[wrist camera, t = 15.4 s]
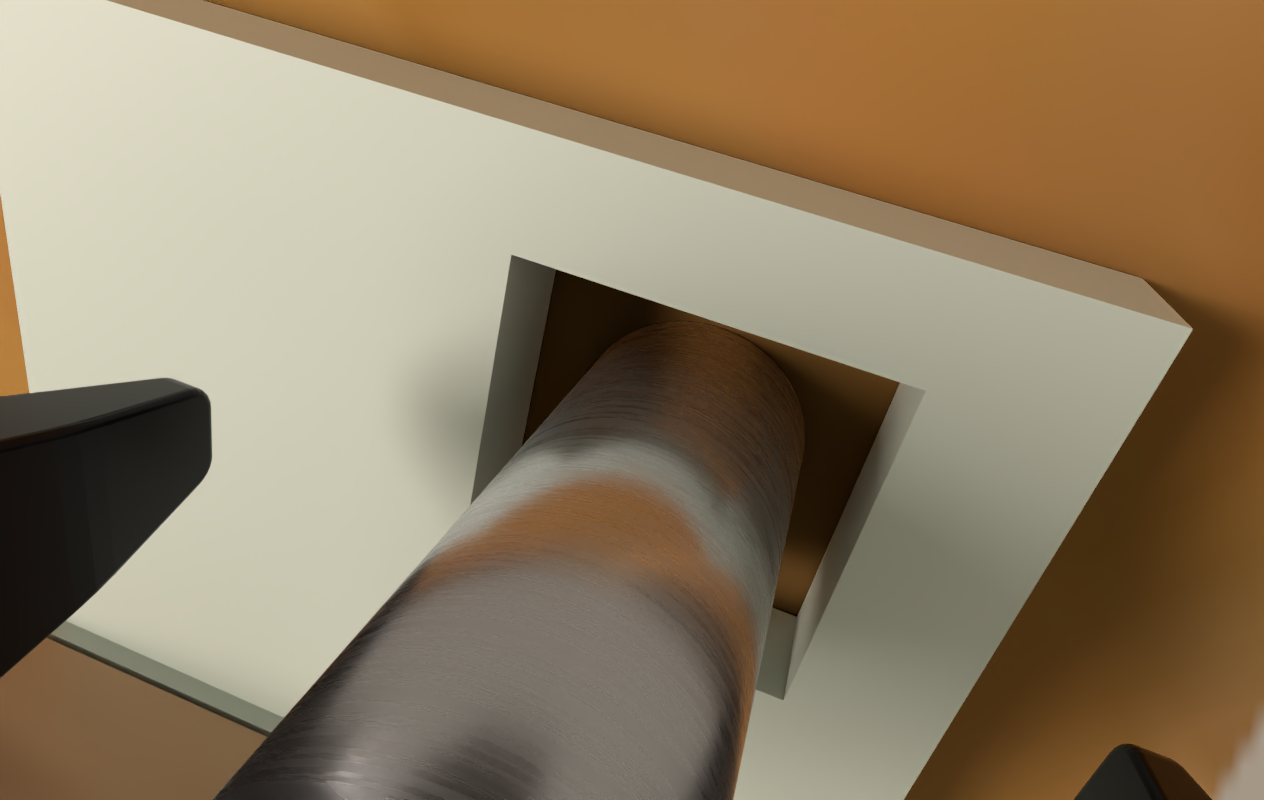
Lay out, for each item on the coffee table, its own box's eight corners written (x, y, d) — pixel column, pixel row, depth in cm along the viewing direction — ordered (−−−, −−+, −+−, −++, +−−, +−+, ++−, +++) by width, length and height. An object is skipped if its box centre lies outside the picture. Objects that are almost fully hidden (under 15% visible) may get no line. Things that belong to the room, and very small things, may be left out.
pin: (763, 558, 11) (607, 1215, 5) (561, 483, 11) (190, 1002, 5) (839, 367, 10) (750, 957, 4) (606, 290, 10) (168, 696, 4)
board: (717, 1033, 16) (696, 1151, 14) (157, 771, 18) (80, 847, 16) (1141, 278, 8) (1205, 340, 7) (92, -33, 10) (-62, -45, 9)
